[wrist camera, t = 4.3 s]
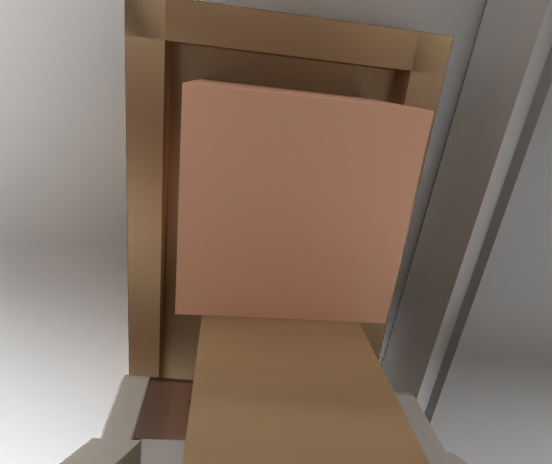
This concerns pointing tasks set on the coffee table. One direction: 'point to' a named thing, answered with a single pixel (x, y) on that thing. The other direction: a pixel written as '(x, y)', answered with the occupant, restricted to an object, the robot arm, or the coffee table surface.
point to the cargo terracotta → (293, 201)
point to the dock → (488, 256)
